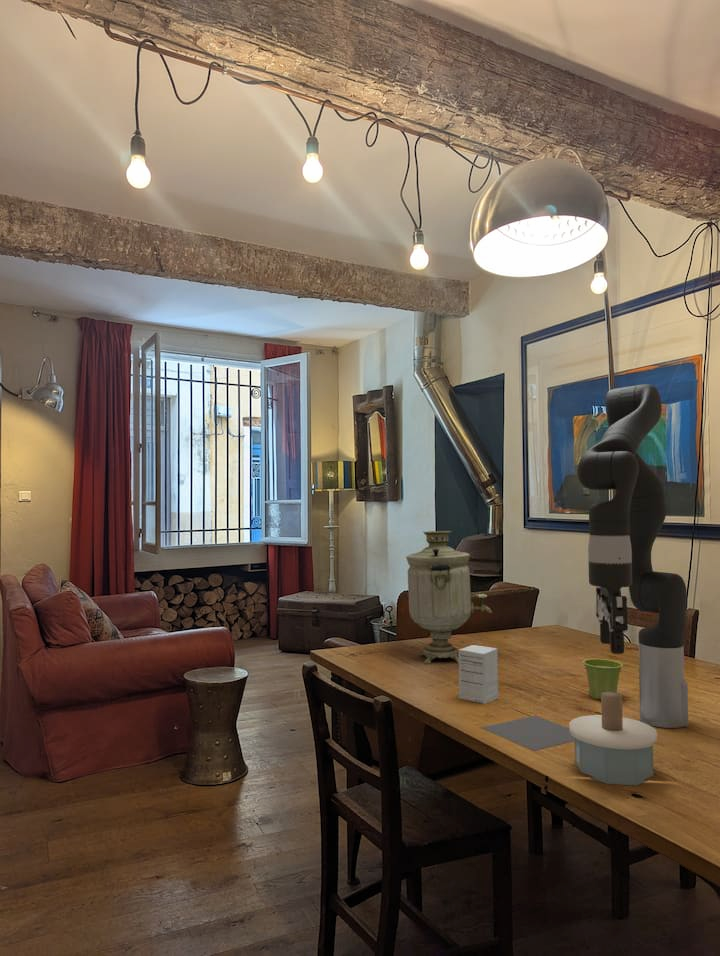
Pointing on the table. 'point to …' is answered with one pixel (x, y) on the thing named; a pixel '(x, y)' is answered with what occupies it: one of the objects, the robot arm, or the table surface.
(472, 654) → the supplement box
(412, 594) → the samovar
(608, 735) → the lid
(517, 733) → the mat
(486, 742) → the table surface
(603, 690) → the plant pot
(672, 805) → the table surface
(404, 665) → the table surface
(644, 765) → the bowl
